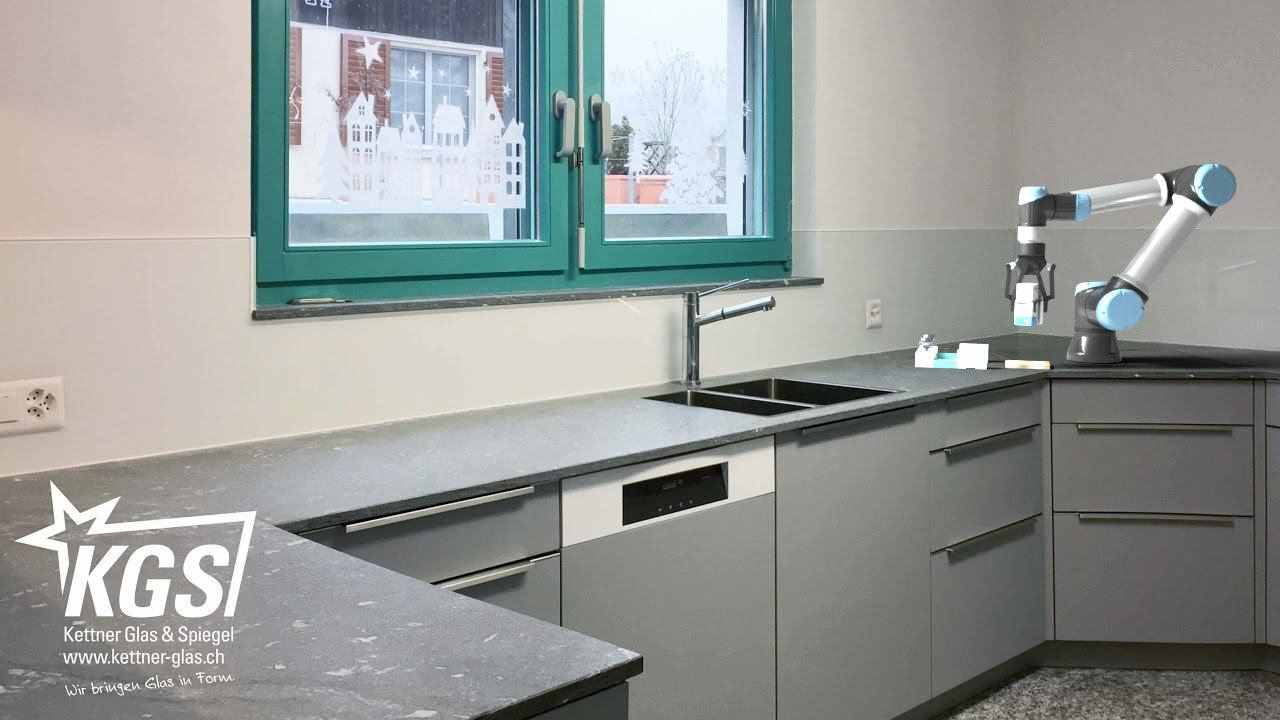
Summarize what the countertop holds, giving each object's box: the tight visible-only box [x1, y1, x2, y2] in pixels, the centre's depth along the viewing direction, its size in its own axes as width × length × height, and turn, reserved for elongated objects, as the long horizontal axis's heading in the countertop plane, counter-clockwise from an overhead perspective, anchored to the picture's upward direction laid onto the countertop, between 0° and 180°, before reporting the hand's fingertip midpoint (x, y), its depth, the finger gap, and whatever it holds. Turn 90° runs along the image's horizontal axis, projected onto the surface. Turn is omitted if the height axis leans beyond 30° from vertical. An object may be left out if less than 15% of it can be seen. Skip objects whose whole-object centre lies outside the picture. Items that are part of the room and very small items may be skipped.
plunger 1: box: [921, 333, 935, 348], centre depth 357 cm, size 4×4×7 cm
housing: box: [914, 343, 989, 370], centre depth 350 cm, size 20×19×5 cm
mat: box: [1004, 359, 1051, 370], centre depth 344 cm, size 12×10×1 cm
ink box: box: [1014, 282, 1043, 327], centre depth 342 cm, size 8×5×12 cm, turn 143°
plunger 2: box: [918, 336, 933, 352], centre depth 347 cm, size 4×4×7 cm
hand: (1028, 323), depth 343 cm, fingers closed on ink box, 6 cm apart
